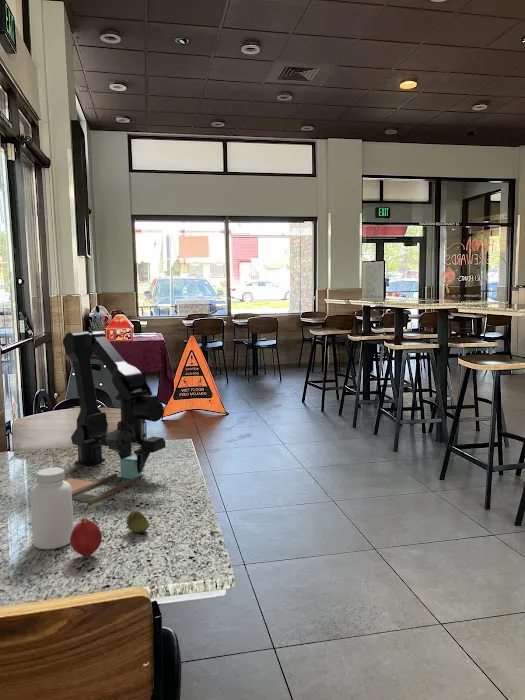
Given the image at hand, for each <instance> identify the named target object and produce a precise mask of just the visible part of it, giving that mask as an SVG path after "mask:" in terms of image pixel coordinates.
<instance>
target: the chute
mask: <svg viewBox="0 0 525 700" xmlns="http://www.w3.org/2000/svg"><path fill="white" fill-rule="evenodd" d="M118 476H119V475H118V473H113V474H110V475H107V477H104V478H102V479H99V480H96V481H94V482H93V483H92V484H90V485H88V486H85V487H83V488H81V489H79V490H76V491H74V492H72V501H77V502H82V503H87V504H94V503H97V502H98V501H100V500H103V499H104V498H106V497H108V496H110V495H112V494H115V493H116V492H118V491H121V490H123V489H124V488H127V487H129V486H130V485H133V484H135V483H137V482H139V481H140V477H135V478H133V479H128V480H127V481H125V482H122V483H120V484H118V485H116V486H115V487H113V488H110V489H108V490H106V491H104V492H101V493H99V494H98V495H95V494H94V495H93V494H88V493H85V492H87V491H89V490H92V489H93V488H96V487H98V486H100V485H102V484H104V483H107V482H109V481H112V480H114V479H116V478H118Z"/></svg>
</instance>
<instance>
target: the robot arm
mask: <svg viewBox="0 0 525 700" xmlns="http://www.w3.org/2000/svg"><path fill="white" fill-rule="evenodd" d="M62 339H63V340H62V346H63V347H64V351H65V354H66V356H67V358H68V359H70V361H71V362H72V364H73V370H74V371H73V372H74V376H75V383H76V391H77V395H78V403H79V407H80V408H79V409H80V411H79V414H78V416H77V418H76V429H75V431H74V432H73V433H72V435H70V440H71V443H72V445H74V446H77V455H78V456H77V457H78V460H75V461H74V464H75V465H82V466H87V467H92V466H93V465H96V464H99V463H103V462H104V461H106V458H104V457H103V452H102V451H103V450H102V446H104V447H108V449H109V450H113V451H115V452H116V453H117V454H118V457H119V458H120V460H121V459H123V458H126V457H129V456H132V447H133V446H137V447H138V449H136V450H134V451H133V453H134V454H135V456H136V457H137V468H138V473H141V472H143V469H144V467H145V465H146V463H147V460H148V458H149V457H150V454H151V453H155V452H158V451H161V450H163V449H164V448H165V449H166V447H167V446H166V439H164V437H160V436H151V437H148V438H146V437H147V433H146V432H144V431H143V424H145V423H146V421H147V422H148V421H149V422H154V423H156V422H158V421H160V420H161V419H162V418H163V416H164V413H165V412H164V411H165V409H164V408H165V407H164V406H163V403H162V402H161V401H160V400H158V395H153V392H152V389H151V387H150V385H149V384H148V382H147V380H146V378H145V376H144V374H143V373H142V372H141V371H140V369H138V368H137V367H136V366H134V365H132V364H129V363H128V362H127V361H126V360H124V358H123V357H122V356H121V354H120V353H119V352H118V351H117V349H116V348H115V347H114V346H113V345H112V343H111V341H109V340H108V338H107V335H106V334H105V332H103V331H91V332H90V331H88V330H83V331H72V332H67V333H66V334H65V336H64V337H63V338H62ZM94 353H95V354H96V356H97V357H98V359H100V361H101V362H102V363H103V364H104V366H105V367H106V369H107V370H108V371H109V372H110V374H111V382H112V383H113V386H114V388H115V389H116V391H117V392H118V394H117V395H116V396H115V397H114V399H115V400H116V401H119V405H120V406H119V409H120V421H117V426H116V429H114V430H113V431H109V432H108V426H109V424H108V419H107V414H106V412H102V411H101V409H100V408H99V407H98V406H99V405H98V399H97V395H96V387H95V381H94V375H93V369H92V361H91V359H92V357H93V355H94ZM144 438H145V439H144Z"/></svg>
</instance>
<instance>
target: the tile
mask: <svg viewBox="0 0 525 700" xmlns="http://www.w3.org/2000/svg"><path fill="white" fill-rule="evenodd" d="M65 481H66V482H68V483H69V484H70V486H71V489H72V492H74V491H76V490H79V489H81V488H83V487H85V486H88V485H90V484H92V483H94V482H93V481H87V480H81V479H77V478H69V479H66V480H65Z"/></svg>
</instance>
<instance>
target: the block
mask: <svg viewBox="0 0 525 700" xmlns="http://www.w3.org/2000/svg"><path fill="white" fill-rule="evenodd" d="M119 464H120V467H119V468H120V478H124V479H127V480H131V479H133V478H135V477H138V478H140V477H141V476H143V475H142V474H143V473H142V472H143V471H142V472H141V473H138V468H137V456H134V455H131V456H129V457H126V458H123V459H121V458H120V460H119Z"/></svg>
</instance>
